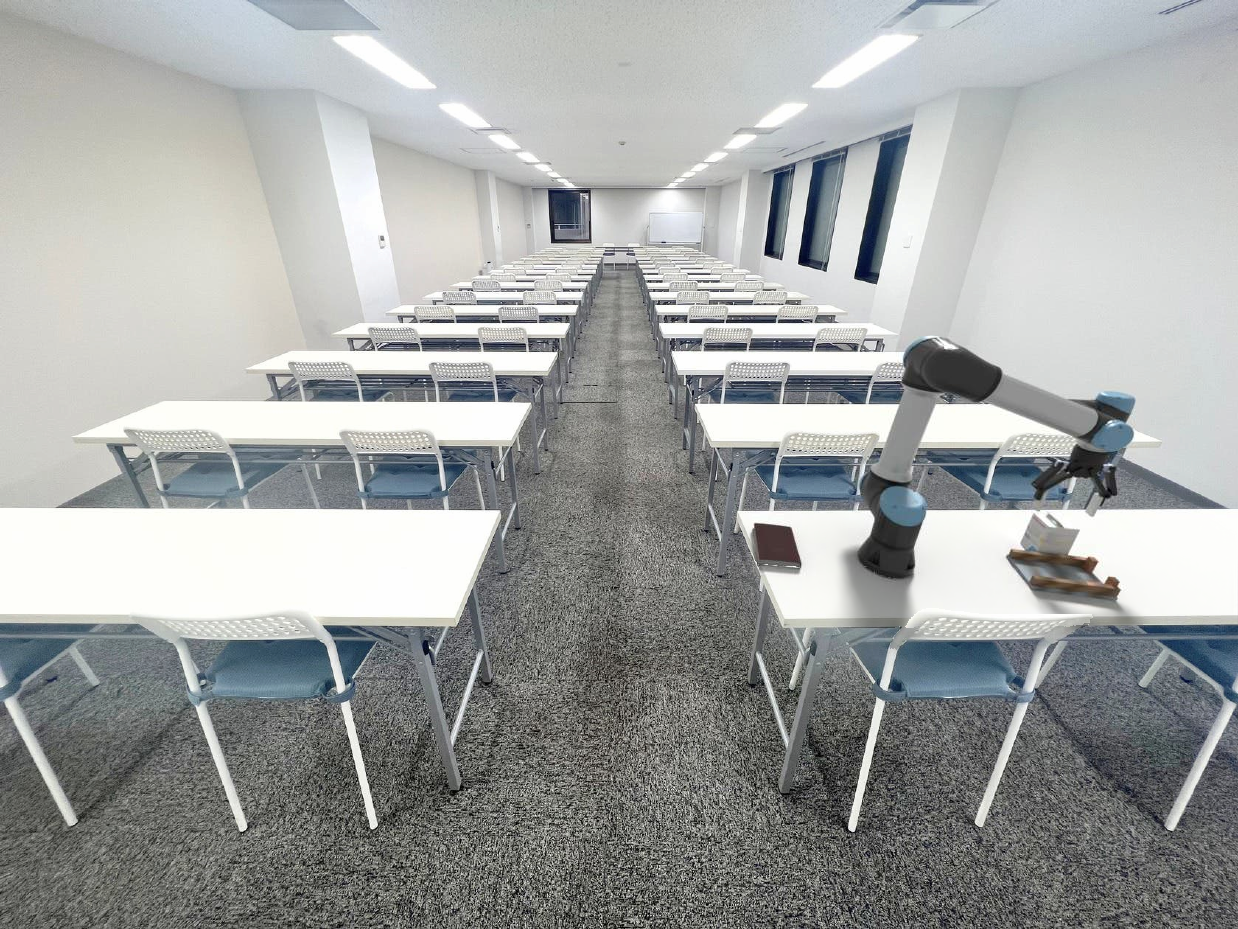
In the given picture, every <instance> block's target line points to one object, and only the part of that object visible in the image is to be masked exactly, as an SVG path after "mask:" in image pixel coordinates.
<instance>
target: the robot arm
mask: <svg viewBox="0 0 1238 929" xmlns="http://www.w3.org/2000/svg"><path fill="white" fill-rule="evenodd" d="M902 364H903V367H904V372H903V375H902V378H901V381H900V384H901V385H902V387H903V388H904V391H903V393H902V396H901V398H900V402H899V403H898V407H897V410H896V413H895V415H894V417H893V418H894V419H893V421H892V424H891V426H890V430H889V432H888V435H887V438H886V440H885V442H884V446H883V449H882V451H881V454H880V457H879V460H878V462H876V463H873V464H872V465H871V466H870V469H869V470H868V471H866V472H864V473H863V475H862V476H861V477H860V480H859V483H858V489H859V494H860V497H861V499H862V500H863V501H864V502H865V503H864V504H866V506H867V508H868V509H869V511H870V513H871V514H872V516H873V518H874V520H873V524H872V528H871V531H870V535H869V536H868V537H867V538H866V539H865V541H864V542H863V543H862V545H861V546H860V547H859V549H858V554H857V558H859V559H858V561H859V560H860V561H859V562H860V564H861V563H862V564H863V565H864V566H866V567H865V569H867V570H868V569H869V570H868V571H870V570H871V571H870V572H871V573H874V572H875V573H874V574H876V573H877V574H876V575H878V576H881V575H882V576H881V577H884V578H888V577H890V578H889V579H894V578H895V579H896V580H897V579H898V580H901V579H906V578H909V577H910V576H912V575H913V573H914V570H915V568H916V556H915V545H916V543H917V541H918V537H919V534H920V531H921V530H922V525H923V523H924V521H925V518H926V516H927V509H928V504H927V501H926V499H925V498H924V497H923V495H922V494H920V493H919V492H917V491H914V490H913V489H911V488H910V485H911V483H912V481H913V478H914V477H913V474H912V473H911V472H910V470H911V468H912V465H913V462H914V459H915V457H916V455H917V453H918V450H919V447H920V445H921V442H922V439H923V437H924V435H925V432H926V430H927V427H928V424H929V423H930V420H931V417H932V415H933V412H934V410H935V407H936V405H937V402H938V401H939V400H938V399H939V398H940V397H941V396H943V395H945V394H949V395H951V396H955V397H958V398H961V399H964V400H967V401H970V402H972V403H976V404H979V403H983V402H984V403H987V404H989V405H991V406H994V407H997V408H999V409H1002V410H1004V411H1007V412H1009V413H1011V414H1014V415H1017V416H1019V417H1022V418H1025V419H1027V420H1030V421H1032V422H1035V423H1037V424H1041V425H1042V426H1044V427H1048V428H1050V429H1053V430H1054V431H1058V432H1060V433H1063V434H1066V435H1068V436H1070V437H1073V438H1074V439H1076V444H1074V446H1073V448H1072V451H1071V452H1070V454H1069V456H1070V457H1069V459H1068V460H1066V461H1064V460H1061V459H1059V458H1056V459H1054V461H1053V462H1052V463H1051V465H1050V466H1049V467H1048V468H1047V469H1046V470H1045V471H1043V472H1042V473H1041V474H1039V475H1038V477H1036V478H1035V479H1033V481H1032V482H1031V483H1030V485H1031V486H1032V487H1033V488H1034V489H1035V493H1034V495H1033V499H1034V502H1033V503H1032V506H1031V507H1032V508H1033V509H1034V510H1035V511H1036V512H1038V513H1041V509H1042V508H1043V505H1044V503H1045V501H1046V499H1047V496H1048V494H1049V492H1048V490H1050V489H1052V488H1054V487H1055V486H1056V485H1059V484H1060V483H1063V482H1064V481H1066V480H1069V479H1072V478H1076V479H1077V478H1080V479H1081V478H1083V479H1087V480H1088V479H1090V480H1091V483H1092V484H1093V485H1094V488H1095V490H1096V491H1097V492H1093V495H1092V497H1091V499H1090V500H1089V503H1088V505H1087V507H1086V509H1085V511H1084V512H1085V513H1086V514H1087V515H1088V516H1089V517H1091V518H1093V517H1095V515H1096V514H1097V512H1098V509H1099V507H1102V506H1104V503H1105V501H1106V500H1107V499H1110V498H1111V497H1117V496H1118V494H1119V493H1118V487H1117V482H1116V475H1115V473H1116V471H1117V466H1116V465H1114V464H1113V463H1111V462H1107V461H1108V459H1109V457H1110V455H1111V453H1112V452H1117V451H1120V450H1123V449H1124V448H1126V447H1127V446H1128V445H1129V444H1130V443H1131V442H1132V441H1133V439H1134V436H1135V432H1134V429H1133V427H1132V426H1131V425H1129V424H1127V421H1128V419H1129V418H1130V416H1131V415H1132V412H1133V409H1134V407H1135V404H1136V401H1137V400H1136V398H1135V397H1134V396H1133V395H1131V394H1128V393H1124V392H1119V391H1113V390H1106V391H1100V392H1099V393H1098V394H1097V396H1095V399H1076V398H1074V399H1073V398H1072V399H1071V398H1065V397H1062V396H1060V395H1058V394H1055V393H1052V392H1050V391H1048V390H1046V389H1043V388H1041V387H1037V386H1036V385H1033V384H1031V383H1028V382H1025V381H1023V380H1020V379H1018V378H1016V377H1013V376H1010V375H1007V374H1005V373H1004V371H1003V369H1002V368H1001V367H999V366H997V365H995V364H992V363H990V362H989V361H987V360H985V359H983V358H981V357H980V356H978V355H977V354H976V353H974V352H972V351H971V350H969V349H967V348H965V347H964V346H962V345H960V344H957V343H955V342H953V341H951V340H950V339H949V338H947V337H942V336H939V335H927V336H921V337H920V338H918V339H916V340H915V341H913V342H912V343H910V345H908V347H907V348H906V350H905V351H904V354H903V355H902ZM1101 471H1103V475H1104V480H1105V481H1104V482H1105V486H1104V484H1103V482H1102V481H1101V478H1100V476H1099V474H1098V473H1100V472H1101ZM862 564H861V565H862ZM863 565H862V566H863ZM864 566H863V567H864ZM895 579H894V580H895Z"/></svg>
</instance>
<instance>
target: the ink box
mask: <svg viewBox="0 0 1238 929" xmlns="http://www.w3.org/2000/svg"><path fill="white" fill-rule="evenodd" d="M1044 510H1045V512H1047V513H1043V512H1042V513H1041V512H1033V514H1032V515H1031V518H1030V520H1029V521H1028V524H1027V527H1026V529H1025V532H1024V534H1023V536H1022V538H1021V540H1020V542H1019V543H1020V545H1021V546H1023V548H1024V549H1025V551H1033V552H1042V553H1050V554H1058V555H1059V554H1063V555H1069V554H1070V552H1071V549H1072V547H1073V546H1074V543H1075V541H1076V539H1077V537H1078V535H1079V532H1080V531H1081V529H1080V528H1079V527H1078V526H1076V524H1074V523H1073V522H1072V521H1071V520H1070V519H1069V518H1067V517H1066V516H1065V515H1062V514H1055V513H1054V514H1053V513H1050V512H1049V511H1048V510H1047V509H1044Z"/></svg>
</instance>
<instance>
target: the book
mask: <svg viewBox="0 0 1238 929" xmlns="http://www.w3.org/2000/svg"><path fill="white" fill-rule="evenodd" d="M752 533H753V534H752V536H753V542H754V546H755V551H756V557H757V558H756V559H757V560H756V561H757V565H758V564H759V565H758V566H759V567H760V566H765V565H764V564H768V565H777V566H796V567H800V569H801V568H802V564H803V563H802V559H801V556H800V554H799V550H798V547H797V542H796V538H795V535H794V531H793V528H792V526H787V525H781V524H780V525H778V524H770V523H763V522H762V523H761V522H754V523H753V528H752ZM777 566H776V567H777Z"/></svg>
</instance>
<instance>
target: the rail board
mask: <svg viewBox="0 0 1238 929" xmlns="http://www.w3.org/2000/svg"><path fill="white" fill-rule="evenodd" d="M1005 557H1006V558H1007V561H1009V563H1010V564H1011V565H1012V566H1013V568H1014V570H1015V571H1016V572H1017V573H1018V574H1019V576H1021V578H1022V579H1023V580H1024V582H1025V583H1026V584H1027V585H1028V588H1030V589H1031V591H1032V590H1033V591H1040V592H1049V593H1056V594H1061V595H1069V596H1077V597H1083V598H1090V597H1091V599H1098V600H1099V599H1100V600H1105V599H1107V600H1106V601H1112V600H1117V601H1118V599H1119V598H1118V596H1119V594H1120V593H1121V591H1122V589H1121V588H1120V587H1119V584H1120V582H1121V581H1120V580H1119V579H1117V578H1116V577H1115V576H1109V575H1108V577H1107V578H1106V580H1105V581H1104V582H1102V580H1101V579H1100V578H1099V577H1098V576H1096V574H1095V573H1093V572H1094V571H1095V568H1096V566H1097V565H1098V563H1099V560H1098V559H1097V558H1096V557H1094V556H1087V557H1084V556H1077V555H1069V554H1068V555H1063V554H1059V555H1058V554H1050V553H1042V552H1033V551H1027V550H1026V549H1025V550H1023V549H1017V548H1011V549H1010V551H1009V552H1008V554H1006V556H1005Z"/></svg>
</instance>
